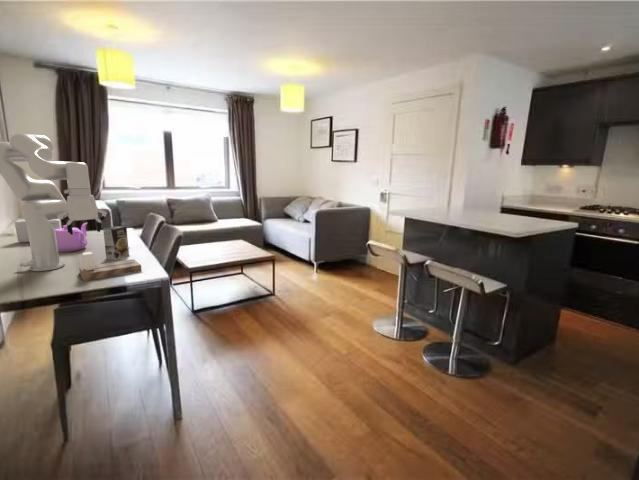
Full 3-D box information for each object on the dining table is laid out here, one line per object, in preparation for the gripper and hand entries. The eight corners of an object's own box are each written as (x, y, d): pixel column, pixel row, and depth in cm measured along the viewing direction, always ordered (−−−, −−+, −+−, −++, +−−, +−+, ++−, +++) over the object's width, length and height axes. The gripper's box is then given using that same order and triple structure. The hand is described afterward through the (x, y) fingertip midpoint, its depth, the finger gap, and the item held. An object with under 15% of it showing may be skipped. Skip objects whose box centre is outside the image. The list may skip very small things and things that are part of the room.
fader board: (84, 280, 139) (83, 273, 138) (79, 273, 147) (79, 267, 147) (141, 271, 154) (140, 264, 153) (134, 265, 162) (133, 258, 161)
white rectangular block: (86, 270, 142) (83, 254, 140) (84, 268, 145) (82, 252, 143) (94, 269, 144) (92, 253, 142) (92, 266, 147) (91, 251, 146)
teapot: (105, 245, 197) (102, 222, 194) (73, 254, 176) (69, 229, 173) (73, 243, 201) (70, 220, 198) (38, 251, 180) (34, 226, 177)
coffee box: (116, 260, 169) (113, 229, 165) (105, 259, 170) (102, 228, 166) (129, 255, 177) (127, 226, 174) (119, 254, 179) (116, 225, 175)
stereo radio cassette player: (17, 243, 195) (11, 210, 191) (22, 240, 203) (17, 208, 198) (61, 241, 204) (56, 209, 200) (64, 238, 211) (60, 207, 207)
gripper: (54, 194, 129) (61, 236, 132) (106, 192, 140) (110, 231, 144) (52, 192, 134) (58, 233, 138) (102, 191, 146) (107, 229, 149)
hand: (85, 232), depth 141 cm, fingers open, 9 cm apart
